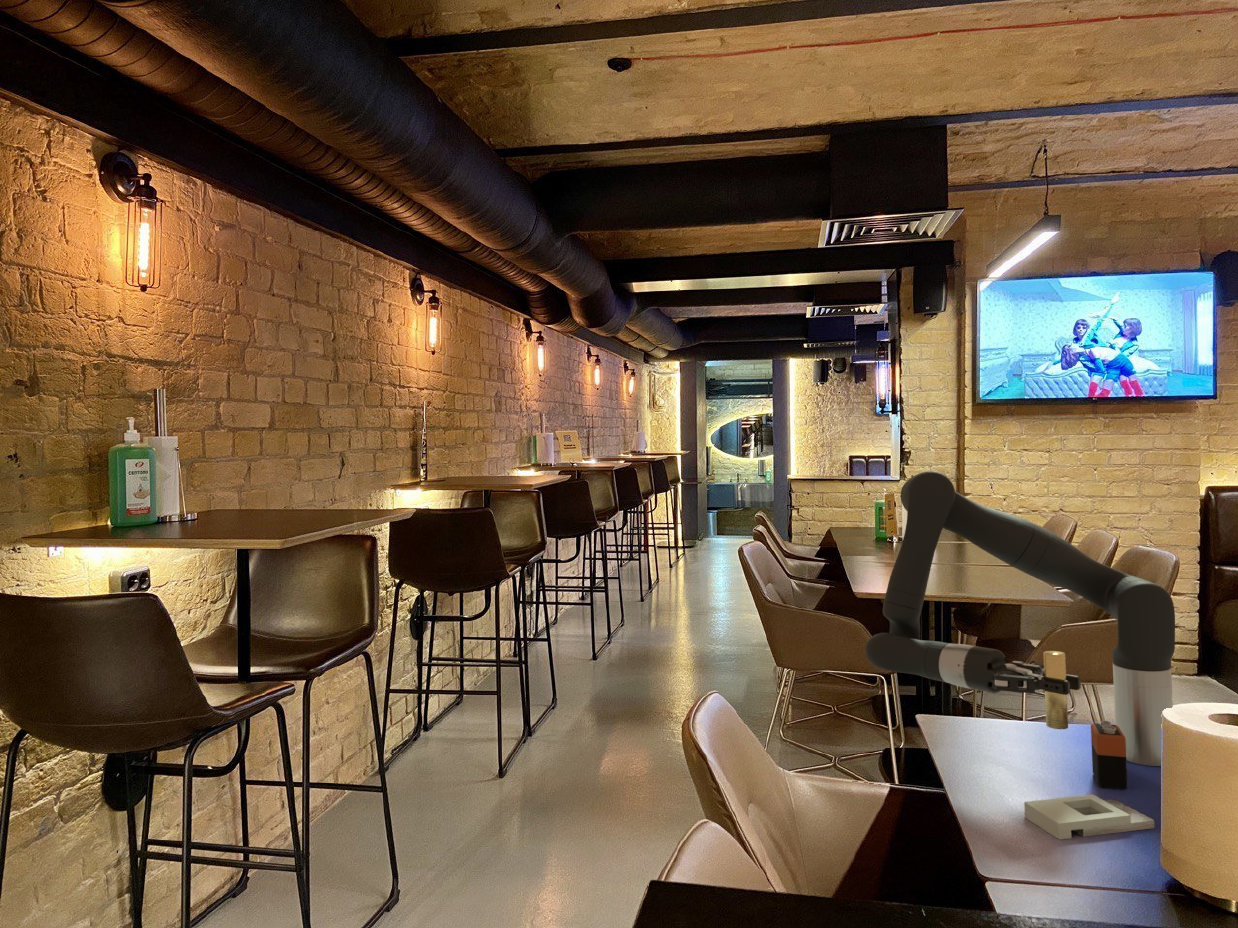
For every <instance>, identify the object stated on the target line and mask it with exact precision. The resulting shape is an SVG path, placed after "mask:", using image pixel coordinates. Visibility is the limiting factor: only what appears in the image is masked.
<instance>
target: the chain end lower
mask: <svg viewBox="0 0 1238 928" xmlns="http://www.w3.org/2000/svg"><path fill="white" fill-rule="evenodd" d="M1104 801H1105V802H1107V803H1109V804H1111V805H1113V806H1115V807H1116V808H1118V809H1120V810H1122V811H1124V812H1126V813H1127V814H1129V815H1130V817H1131V823H1127V824H1119V825H1110V826H1102V827H1093V828H1085V829H1077V830H1073V831H1074V832H1075V833H1077V834H1079V836H1081V837H1091V836H1101V835H1109V834H1117V833H1124V832H1125V833H1126V832H1134V831H1140V830H1148V829H1151V830H1152V829H1155V820H1154V819H1152V818H1151V817H1149V816H1147V815H1145V814H1143V813H1141V812H1140V811H1137V810H1136V809H1135V808H1132V807H1130V806H1128V805H1126V804H1124V803H1123V802H1121V801H1119V800H1117V799H1115V798H1114V799H1105V800H1104ZM1074 809H1075V810H1076V811H1078V812H1080V813H1081V814H1083V815H1093V814H1102V813H1101V812H1100V811H1098V810H1096V809H1094V808H1093V807H1082V808H1074Z"/></svg>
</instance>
